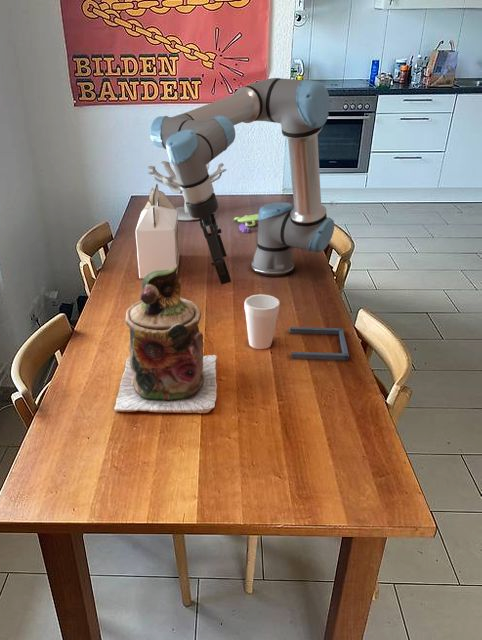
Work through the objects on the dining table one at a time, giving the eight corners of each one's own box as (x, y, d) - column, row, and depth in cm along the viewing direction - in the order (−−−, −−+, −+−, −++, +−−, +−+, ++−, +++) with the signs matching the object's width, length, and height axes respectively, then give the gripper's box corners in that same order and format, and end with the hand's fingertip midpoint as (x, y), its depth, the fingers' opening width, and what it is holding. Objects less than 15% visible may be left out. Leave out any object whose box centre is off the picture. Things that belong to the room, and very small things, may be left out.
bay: (291, 358, 157) (291, 353, 156) (289, 331, 170) (289, 326, 169) (348, 360, 156) (349, 355, 155) (342, 332, 169) (342, 328, 168)
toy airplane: (293, 236, 237) (294, 223, 234) (229, 233, 242) (229, 220, 239) (296, 222, 252) (297, 209, 249) (235, 219, 257) (235, 206, 254)
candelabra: (157, 203, 279) (154, 144, 264) (230, 205, 275) (230, 144, 260) (142, 226, 251) (137, 161, 236) (222, 229, 246) (222, 162, 232)
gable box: (145, 255, 222) (139, 181, 207) (179, 255, 222) (176, 180, 207) (139, 279, 204) (132, 199, 189) (176, 278, 203) (173, 198, 188)
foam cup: (241, 336, 168) (242, 295, 161) (273, 334, 168) (275, 293, 161) (246, 352, 160) (247, 310, 153) (279, 351, 161) (282, 308, 153)
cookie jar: (127, 360, 158) (115, 248, 140) (217, 361, 157) (217, 247, 139) (112, 415, 137) (97, 291, 119) (216, 416, 136) (216, 290, 119)
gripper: (183, 182, 152) (207, 251, 165) (187, 224, 133) (214, 298, 146) (210, 173, 151) (233, 243, 164) (218, 214, 132) (242, 289, 145)
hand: (224, 269), depth 155 cm, fingers open, 13 cm apart
